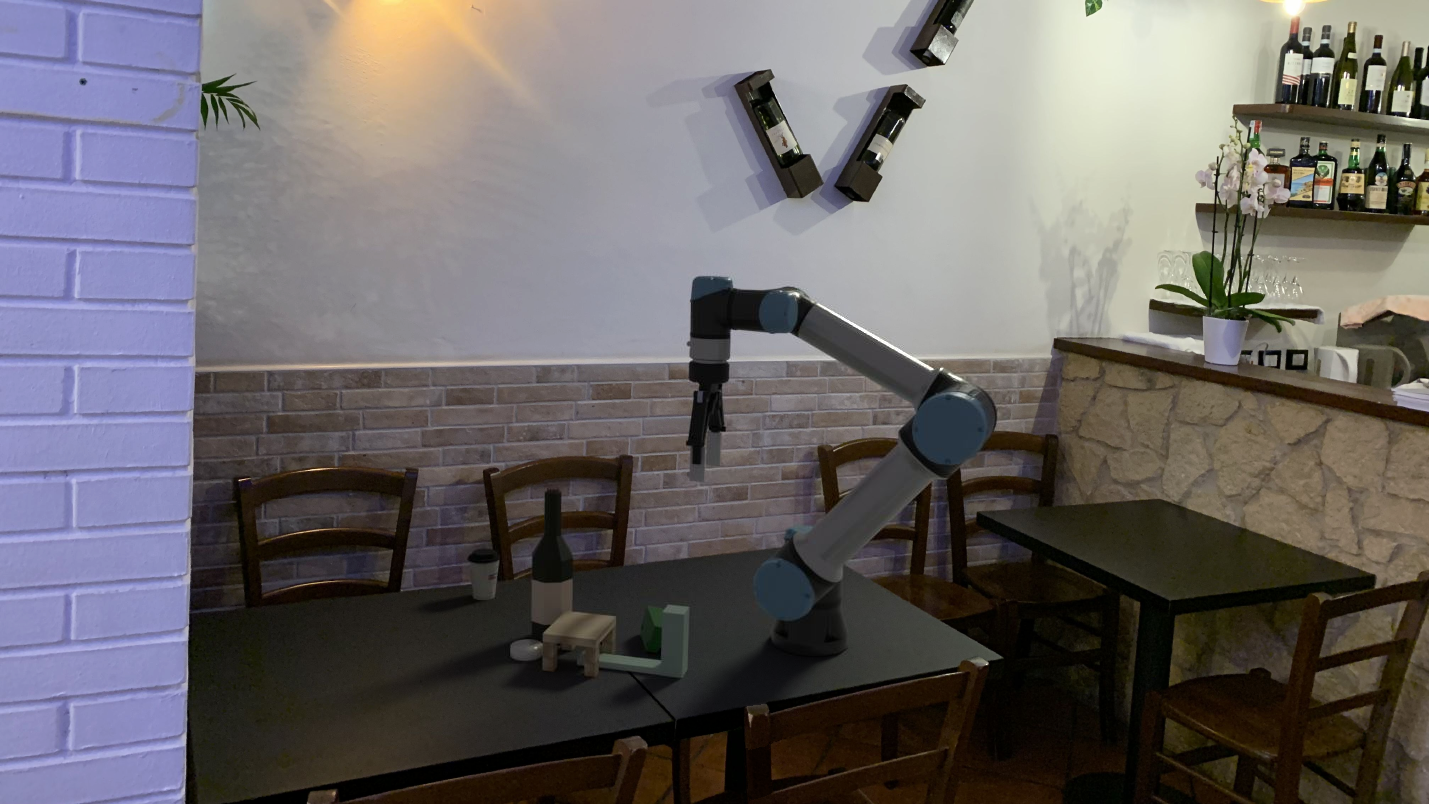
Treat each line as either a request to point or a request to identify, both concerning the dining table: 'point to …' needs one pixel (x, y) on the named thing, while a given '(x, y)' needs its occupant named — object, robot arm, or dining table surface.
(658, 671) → the l-shaped bracket
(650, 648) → the clamp
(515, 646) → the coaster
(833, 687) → the dining table surface
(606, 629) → the riser
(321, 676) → the dining table surface
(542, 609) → the wine bottle
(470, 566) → the coffee cup
